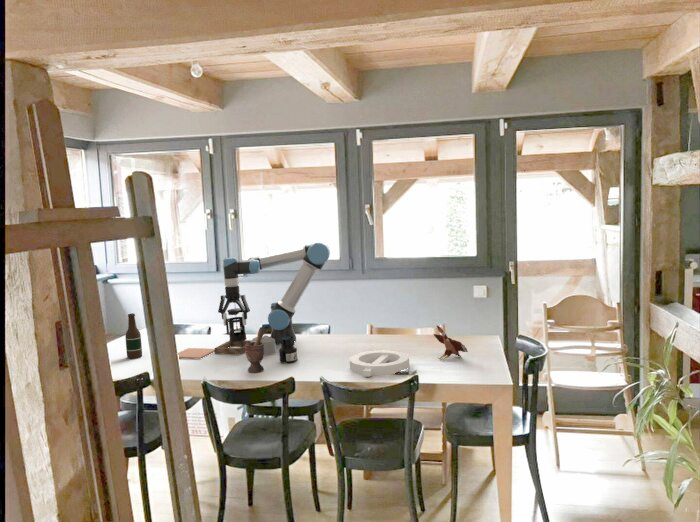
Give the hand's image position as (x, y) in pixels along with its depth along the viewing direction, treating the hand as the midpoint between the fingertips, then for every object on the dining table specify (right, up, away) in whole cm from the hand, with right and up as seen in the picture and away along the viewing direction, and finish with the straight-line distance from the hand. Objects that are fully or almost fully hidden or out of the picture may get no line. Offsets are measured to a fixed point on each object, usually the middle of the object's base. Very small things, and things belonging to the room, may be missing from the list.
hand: (235, 325), depth 313 cm
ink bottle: (+33, -15, -28) cm, 46 cm away
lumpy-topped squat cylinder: (+17, -14, -8) cm, 24 cm away
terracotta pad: (-21, -15, -5) cm, 27 cm away
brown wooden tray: (0, -14, +1) cm, 14 cm away
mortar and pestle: (+19, -17, -41) cm, 48 cm away
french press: (+1, -8, +1) cm, 8 cm away
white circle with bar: (+78, -15, -46) cm, 91 cm away
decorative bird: (+112, -12, -37) cm, 119 cm away
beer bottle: (-53, -17, -6) cm, 56 cm away
